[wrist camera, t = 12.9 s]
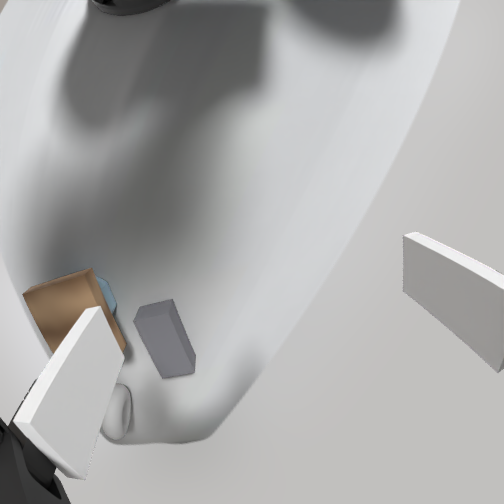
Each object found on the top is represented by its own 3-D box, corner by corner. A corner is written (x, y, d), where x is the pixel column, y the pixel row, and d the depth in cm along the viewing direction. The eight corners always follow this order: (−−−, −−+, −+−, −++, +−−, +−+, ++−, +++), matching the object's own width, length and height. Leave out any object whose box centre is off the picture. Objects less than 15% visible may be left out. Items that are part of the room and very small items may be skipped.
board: (31, 287, 31) (22, 294, 28) (91, 267, 31) (84, 274, 29) (65, 354, 34) (59, 363, 32) (126, 343, 35) (122, 354, 32)
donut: (111, 369, 41) (94, 411, 32) (130, 373, 42) (116, 416, 32) (116, 408, 44) (105, 448, 35) (134, 411, 45) (125, 452, 35)
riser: (140, 306, 39) (133, 321, 35) (172, 299, 39) (168, 313, 35) (165, 361, 42) (162, 378, 38) (195, 355, 42) (194, 372, 38)
